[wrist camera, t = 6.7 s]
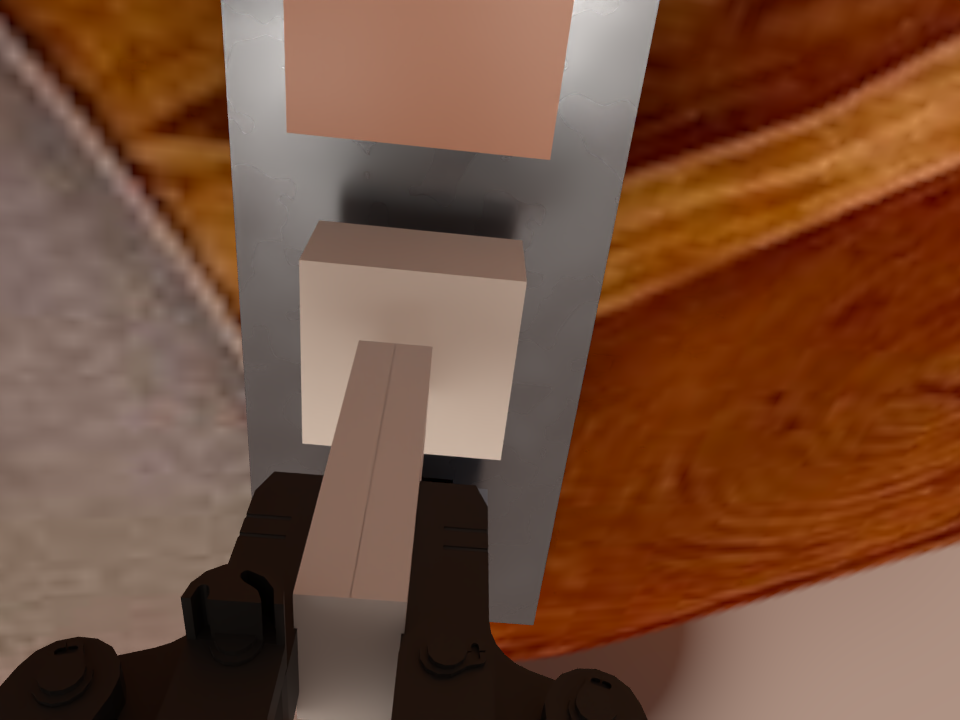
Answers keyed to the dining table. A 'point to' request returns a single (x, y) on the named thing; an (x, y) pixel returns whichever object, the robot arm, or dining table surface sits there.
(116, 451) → the dining table surface
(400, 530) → the robot arm
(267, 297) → the console
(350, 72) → the terracotta key
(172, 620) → the dining table surface
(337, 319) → the white key
